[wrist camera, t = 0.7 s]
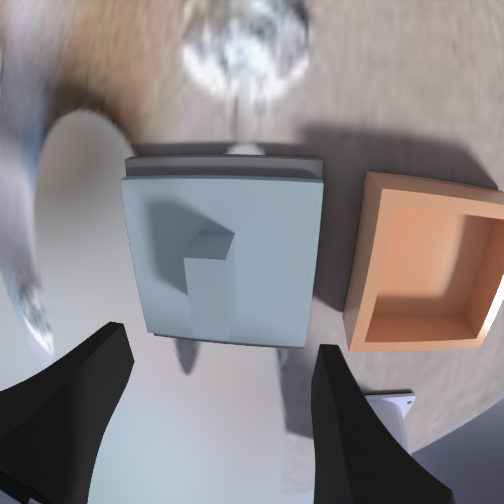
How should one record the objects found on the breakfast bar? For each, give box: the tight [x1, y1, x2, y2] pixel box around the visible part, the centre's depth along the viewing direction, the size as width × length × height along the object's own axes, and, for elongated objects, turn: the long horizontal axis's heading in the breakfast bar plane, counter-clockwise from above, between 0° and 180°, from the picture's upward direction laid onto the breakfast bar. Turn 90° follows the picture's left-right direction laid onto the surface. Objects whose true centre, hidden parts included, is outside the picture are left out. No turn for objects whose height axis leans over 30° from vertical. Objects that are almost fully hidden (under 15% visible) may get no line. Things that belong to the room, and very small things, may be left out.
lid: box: [120, 175, 324, 347], centre depth 18 cm, size 11×11×4 cm
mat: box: [125, 154, 323, 349], centre depth 20 cm, size 13×11×1 cm
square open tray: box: [342, 171, 504, 352], centre depth 17 cm, size 10×10×4 cm
